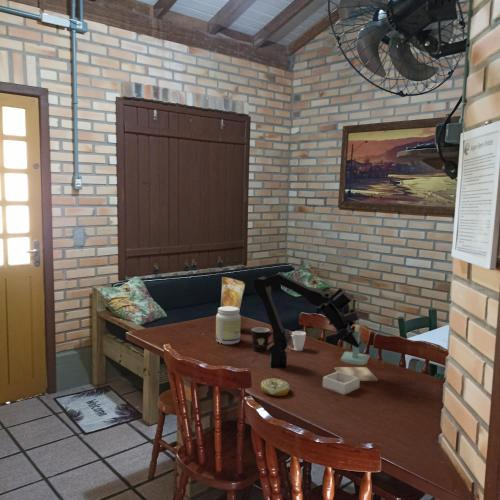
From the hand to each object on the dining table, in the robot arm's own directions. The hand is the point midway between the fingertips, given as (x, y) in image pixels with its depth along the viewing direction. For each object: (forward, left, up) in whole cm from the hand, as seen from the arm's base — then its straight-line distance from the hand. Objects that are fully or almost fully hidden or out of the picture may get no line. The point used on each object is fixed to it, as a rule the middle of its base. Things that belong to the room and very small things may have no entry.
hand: (359, 345), depth 195 cm
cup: (-19, +37, -14) cm, 44 cm away
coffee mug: (-35, +35, -14) cm, 51 cm away
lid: (-1, +1, -7) cm, 7 cm away
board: (0, +4, -13) cm, 14 cm away
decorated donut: (-36, -13, -14) cm, 40 cm away
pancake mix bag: (-49, +72, -14) cm, 88 cm away
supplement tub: (-51, +50, -14) cm, 73 cm away
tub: (-10, -10, -13) cm, 19 cm away
